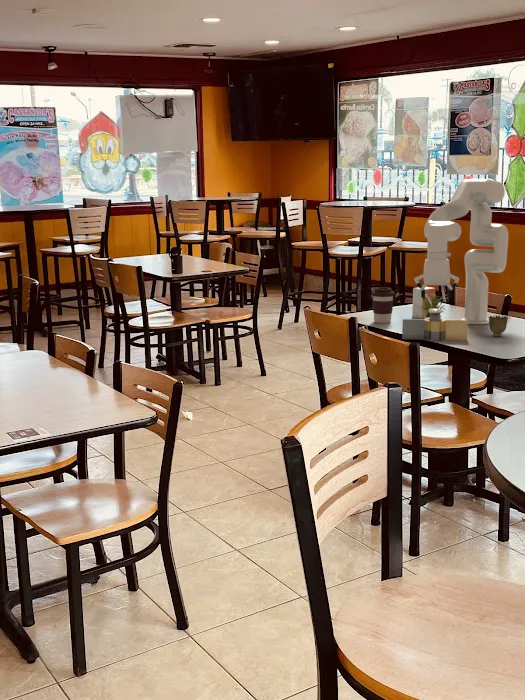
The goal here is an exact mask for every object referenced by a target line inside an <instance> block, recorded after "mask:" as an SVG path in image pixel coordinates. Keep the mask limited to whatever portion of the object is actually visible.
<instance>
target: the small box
mask: <svg viewBox="0 0 525 700" xmlns="http://www.w3.org/2000/svg"><path fill="white" fill-rule="evenodd" d="M429 293H430V294H431V295H430V294H429ZM434 294H435V295H436V288H435V287H433V286H432V287H431V286H426V287H425V297H427V298H428V300H429V302H430V303H431V305H432V299H431V296H432V297H433V299H434ZM421 299H422V300H423V298H421V289H420V288H419V287H418V286H417V287H413V288H412V317H413V318H417V319H424V315H428V313H427V311H426V310H425V309H424V308H422V307H420V306H423V307H424V306H425V303H424V302H426V300H423V301H424V302H423V301H422V300H421ZM425 308H426V307H425ZM419 309H422V310H419ZM423 310H424V311H425V312H426V313H427V314H426V313H425V312H424V311H423Z"/></svg>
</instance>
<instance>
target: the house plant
mask: <svg viewBox="0 0 525 700" xmlns="http://www.w3.org/2000/svg"><path fill="white" fill-rule="evenodd" d="M429 294H430V293H429ZM430 295H431V294H430ZM446 296H447V297H446ZM445 297H446V298H445ZM431 299H432V305H431V303H430V302H429V300H428V298H427V297H425V300H426V302H424V301H423V300H422V299H421V300H422V301H423V302H424V303H425V306H424V307H423V306H420V307H422V308H424V309H425V310H426V311H427V313H428V315H424V318H423V319H427V318H430V313H429V309H442V313H444V310H445V311H446V308H445V306H446V304H444V305H443V303H444V302H445V301H446V300H448V293H447V294H443V295H442V296H440V298H439V296H437V295H436V293H435V294H434V299H433V297H432V296H431ZM441 305H442V306H441ZM425 307H426V308H425ZM419 310H422V309H419ZM423 311H424V310H423ZM424 312H425V311H424ZM425 313H426V312H425ZM427 313H426V314H427ZM440 318H442V316H441V315H440Z"/></svg>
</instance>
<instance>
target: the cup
mask: <svg viewBox="0 0 525 700" xmlns="http://www.w3.org/2000/svg"><path fill="white" fill-rule="evenodd" d="M488 319H489V323H488V327H489V331H490V332H491V333H492V337H495V338H502V336H503V333H505V331H506V329H507V324H508V319H509V318H508V317H507V316H506V315H505V316H503V315H502V316H500V315H493V316H492V315H489V316H488Z"/></svg>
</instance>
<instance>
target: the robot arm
mask: <svg viewBox="0 0 525 700" xmlns="http://www.w3.org/2000/svg"><path fill="white" fill-rule="evenodd" d="M505 195H506V192H505V186H504V184H503V183H502V182H501V181H497V180H492V179H487V178H468V179H467V178H466V179H463V180H461V182H460V183H459V184H458V186H457V187H456V189H455V191H454V193H453V195H452V197H451V198H450V201H449V202H447V203H445V204H443V205H441V206H440V207H438V208H436V209H435V210H434V211H432V212H431V214H430V215H429V217H428V219H427V221H426V223H425V225H424V227H423V228H424V229H423V234H424V237H425V238H426V239H427V249H426V251H427V254H426V257H427V258H425V260H424V265H423V273H422V274H420V275H418V276H416V277H414V278H413V280H414V282H415V284H416V286H417V288H418V287H419V288H420V289H421V298H423V300H425V287H428V286H446V287H447V288H448V289H447V294H448V295H447V297H448V299H447V300H448V301H450V300H451V298H453V289H455V288H456V286H457V285H458V284H459V282H460V278H459V277H458V276H455V275H454V274H452V273H451V267H450V265H451V264H450V260H449V259H448V258H449V257H451V256H452V253H451V252H448V242H454V241H456V240H458V239H460V237H461V235H462V226H461V225H460V223H457V222H455V221H453V220H456V219H460V218H462V217H465V216H466V215H467V214H468V213H469V212H470V214H471V215H470V227H469V228H470V230H469V241H470V243H471V244H472V245H473V246H478V247H491V248H493V249H483V248H474V249H473V248H472V249H469V250H468V251H467V252H466V253H465V254H464V260H463V261H464V262H463V263H464V268H465V269H464V270H465V297H464V300H465V301H464V317H462V318H460V320H468V325H489V317H488V306H489V305H488V303H489V279H488V276H487V275H486V273H492V274H493V273H497V274H499V273H502V272H504V271H505V269H506V266H507V262H508V261H507V260H508V249H509V230H508V228H507V226H506V225H504V224H501V223H492V219H493V218H492V217H493V212H492V208H491V207H490V205H489V204H490V203H492V204H493V203H494V204H498V203H500V202H501V201H502V200H503V199H504V198H505ZM488 203H489V204H488ZM420 280H422V281H423V284H421V283H420ZM451 280H454V282H453V283H452V284H450V283H451Z"/></svg>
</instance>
